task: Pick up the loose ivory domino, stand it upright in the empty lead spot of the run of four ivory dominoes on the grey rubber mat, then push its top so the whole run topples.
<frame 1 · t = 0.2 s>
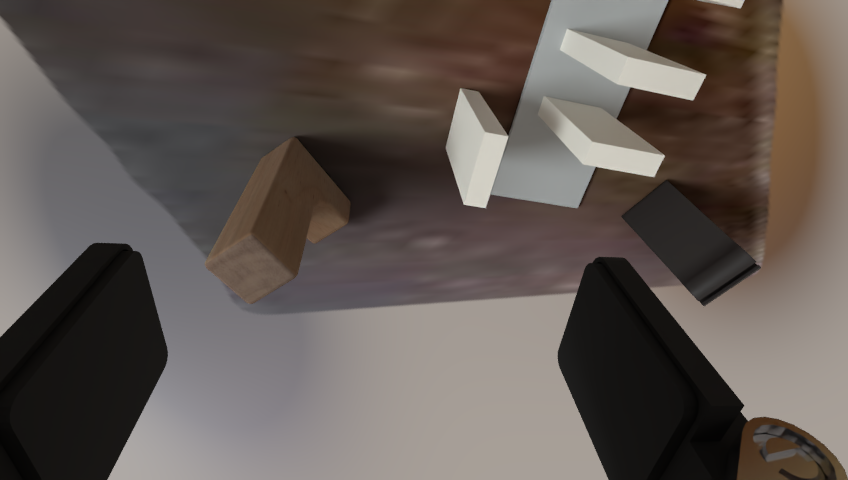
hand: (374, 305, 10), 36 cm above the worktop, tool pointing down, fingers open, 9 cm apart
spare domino: (461, 120, 45), on the worktop
wooden block: (307, 180, 48), on the worktop
domino 1: (569, 111, 45), resting on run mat
phone stand: (662, 219, 54), on the worktop
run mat: (587, 56, 43), on the worktop
domino 2: (593, 46, 42), resting on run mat
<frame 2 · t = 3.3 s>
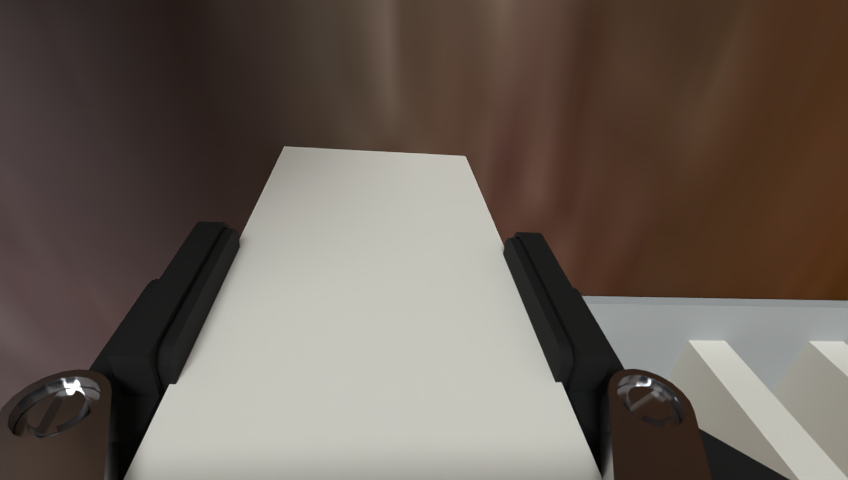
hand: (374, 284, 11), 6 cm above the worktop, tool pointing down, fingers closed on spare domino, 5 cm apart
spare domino: (375, 176, 16), on the worktop, touching gripper
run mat: (538, 378, 22), on the worktop
domino 3: (681, 386, 22), resting on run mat
domino 4: (793, 385, 23), resting on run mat
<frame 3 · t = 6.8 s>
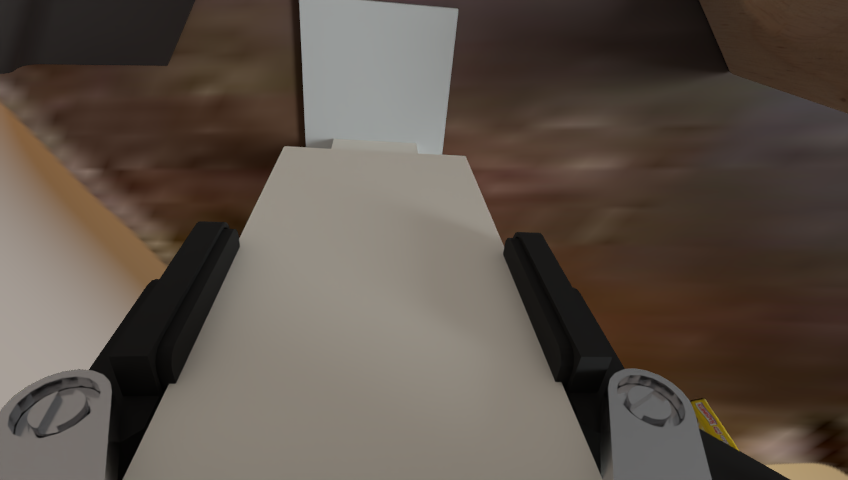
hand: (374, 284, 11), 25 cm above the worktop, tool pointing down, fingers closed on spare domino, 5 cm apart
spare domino: (375, 176, 16), point 19 cm above the worktop, touching gripper
wooden block: (735, 0, 32), on the worktop
domino 1: (375, 152, 34), resting on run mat
candy box: (685, 439, 58), on the worktop
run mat: (373, 209, 37), on the worktop
when the fingers open (8 cm above the worktop, at t = 10.3 s): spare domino stays where it is, resting on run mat.
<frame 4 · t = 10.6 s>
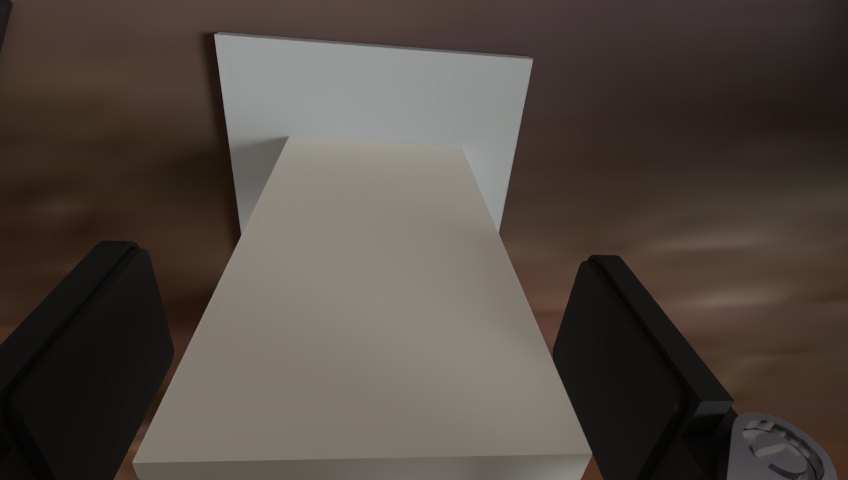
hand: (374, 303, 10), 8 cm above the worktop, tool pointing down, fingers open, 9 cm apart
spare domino: (376, 165, 17), resting on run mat
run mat: (368, 370, 23), on the worktop
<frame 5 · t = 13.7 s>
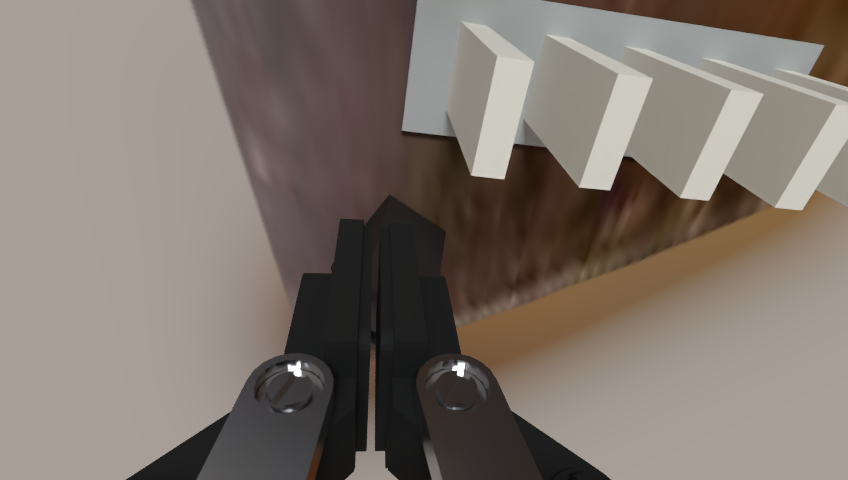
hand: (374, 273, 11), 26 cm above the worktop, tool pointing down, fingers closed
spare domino: (465, 69, 33), resting on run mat
domino 1: (545, 80, 34), resting on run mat
phone stand: (387, 246, 42), on the worktop
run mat: (606, 87, 35), on the worktop
domino 2: (622, 90, 35), resting on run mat
domino 3: (694, 100, 36), resting on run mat
domino 4: (764, 109, 36), resting on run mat
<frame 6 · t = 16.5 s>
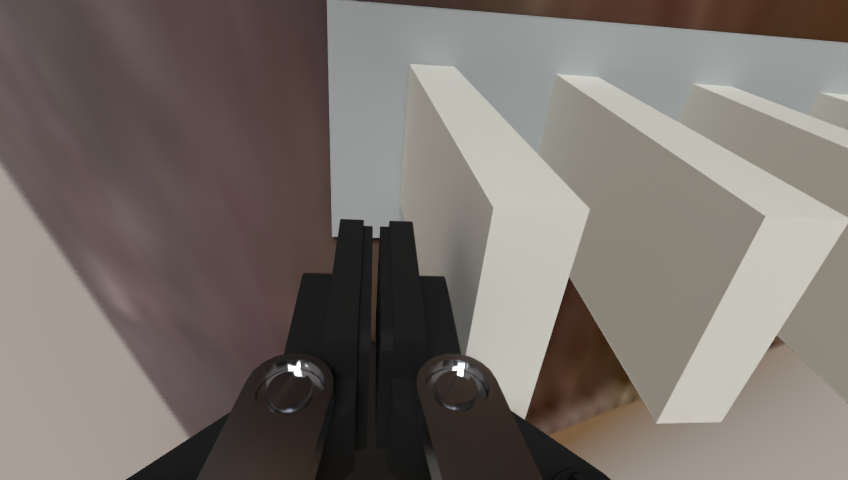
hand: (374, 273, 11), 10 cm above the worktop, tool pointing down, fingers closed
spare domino: (425, 138, 20), point 1 cm above the worktop, touching gripper, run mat
domino 1: (560, 145, 21), resting on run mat
phone stand: (336, 384, 28), on the worktop
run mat: (659, 147, 22), on the worktop
domino 2: (685, 152, 21), resting on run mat
domino 3: (803, 158, 22), resting on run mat
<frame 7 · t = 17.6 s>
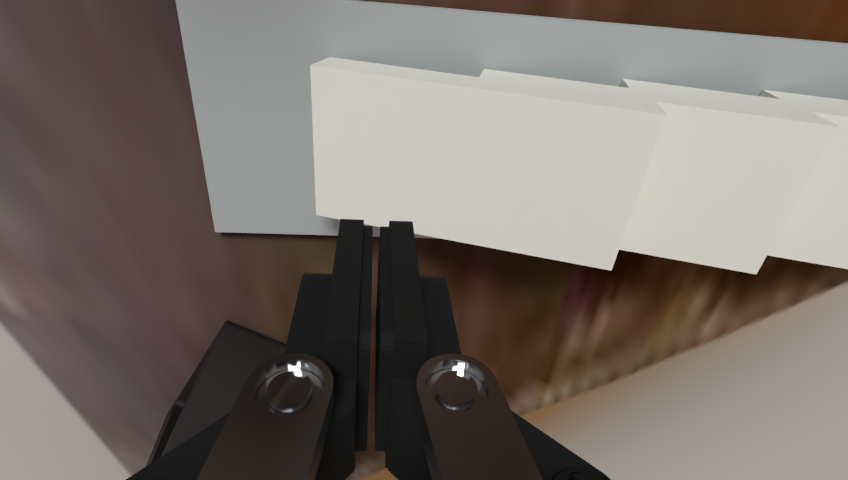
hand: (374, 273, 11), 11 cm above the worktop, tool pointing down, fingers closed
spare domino: (322, 139, 19), point 1 cm above the worktop, tilted 72°, touching domino 1, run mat
domino 1: (470, 147, 19), point 1 cm above the worktop, tilted 72°, touching domino 2, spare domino
phone stand: (246, 384, 28), on the worktop
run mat: (549, 141, 21), on the worktop
domino 2: (604, 154, 20), point 1 cm above the worktop, tilted 73°, touching domino 1, domino 3, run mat
domino 3: (739, 162, 21), point 1 cm above the worktop, tilted 73°, touching domino 2, domino 4
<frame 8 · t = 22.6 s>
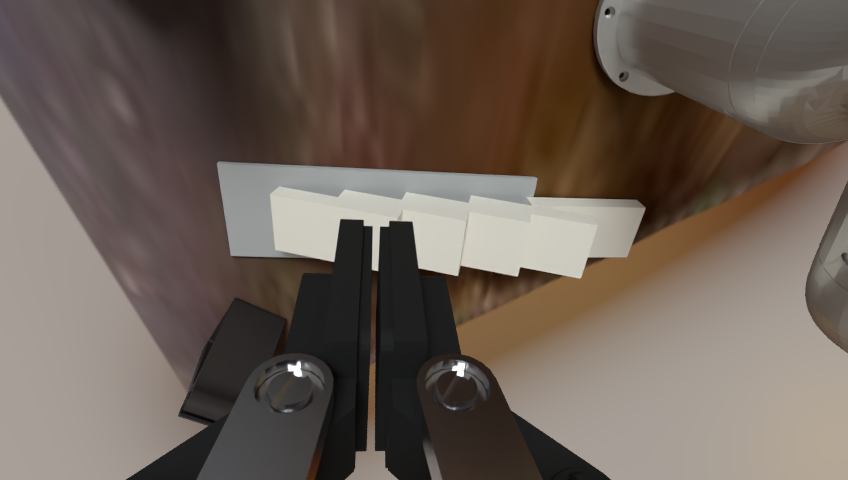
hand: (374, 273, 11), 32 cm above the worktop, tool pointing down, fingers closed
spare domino: (277, 218, 44), point 1 cm above the worktop, tilted 72°, touching domino 1, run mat
domino 1: (341, 221, 45), point 1 cm above the worktop, tilted 72°, touching domino 2, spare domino
phone stand: (245, 331, 54), on the worktop
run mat: (381, 215, 47), on the worktop
domino 2: (402, 223, 46), point 1 cm above the worktop, tilted 73°, touching domino 1, domino 3, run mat
domino 3: (465, 225, 47), point 1 cm above the worktop, tilted 73°, touching domino 2, domino 4
domino 4: (523, 227, 47), point 1 cm above the worktop, tilted 93°, touching domino 3, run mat
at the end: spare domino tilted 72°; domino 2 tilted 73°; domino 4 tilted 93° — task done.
